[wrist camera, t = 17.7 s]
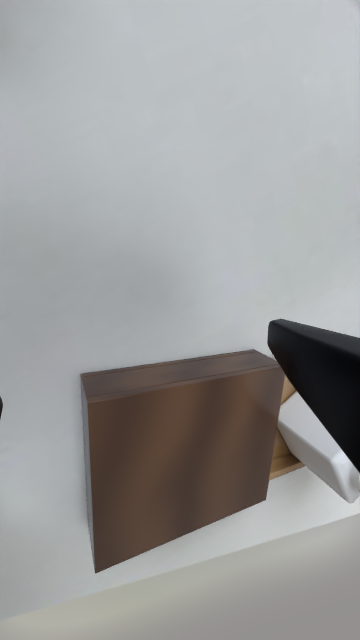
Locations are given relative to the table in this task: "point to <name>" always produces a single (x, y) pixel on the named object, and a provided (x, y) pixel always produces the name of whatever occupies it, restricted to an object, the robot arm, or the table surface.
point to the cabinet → (175, 447)
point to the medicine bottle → (317, 448)
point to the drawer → (283, 444)
